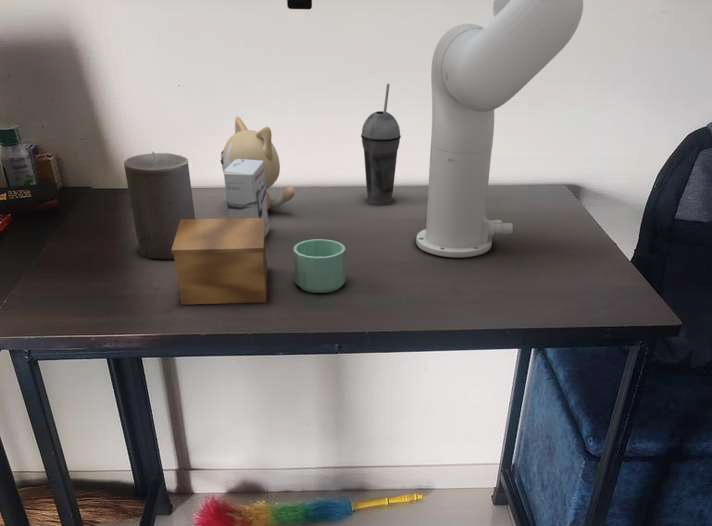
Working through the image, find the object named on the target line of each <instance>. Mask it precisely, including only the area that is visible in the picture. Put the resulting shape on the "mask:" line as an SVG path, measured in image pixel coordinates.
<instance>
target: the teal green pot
mask: <svg viewBox="0 0 712 526" xmlns="http://www.w3.org/2000/svg"><path fill="white" fill-rule="evenodd" d="M293 263H294V264H293V265H294V282H295V284H296V285H297V286H298V287H299V288H300V289H301V290H302V291H305V292H308V293H313V294H314V293H315V294H326V293H332V292H335V291H337V290H339V289H340V288H342V286H343V285H344V284H345V283H346V281H347V280H346V278H347V277H346V276H347V275H346V271H347V270H346V247H345V245H344V244H343V243H341V242H339V241H336V240H333V239H325V238H314V239H308V240H307V239H306V240H303V241H300V242H297V243H296V244H295V245H294V246H293Z"/></svg>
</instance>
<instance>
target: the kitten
mask: <svg viewBox="0 0 712 526" xmlns="http://www.w3.org/2000/svg"><path fill="white" fill-rule="evenodd" d="M220 153H221V154H220V156H221V157H220V160H219V161H220V164H221V168H222V172H223V174H224V170H225V169H226V168H227V167H228V166H229V165H230V164H231V163H232V162H233V161H234V160H235V159H247V160H261V161H264V170H265V185H266V199H267V211H269V209H270V208H279V207H281V206H283V205H285V204H286V203H288V202H289V201H291V200H292V199H293V198H294V196H295V192H296V191H295V188H294V187H293V186H292V185H287V186H286V187H285V188H284V190H283V192H282V194H281V196H280V197H277V198H273V199H272V196H271V194H270V193H269V190H268V189H270V188H271V187H272V186H273V185H274V184H275V183H276V182H277V180H278V178H279V176H280V173H281V163H280V158H279V154H278V151H277V149H276V147H275V145H274V144H273V142H272V129H271V128H270V127H269V126H265V127H263V128H261V129H260V130H258V131H256V130H252V129H251V130H250V129H248V127H247V125H246V124H245V123H244V121H243V120H242V119H241V117H240V116H236V117H235V120H234V134H232V135H231V136H230V137H229V138H228V139H227V140H226V143H225V144H224V148H223V149H222V151H221V152H220Z"/></svg>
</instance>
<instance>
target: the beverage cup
mask: <svg viewBox="0 0 712 526" xmlns="http://www.w3.org/2000/svg"><path fill="white" fill-rule="evenodd" d="M389 92H390V83H386V88H385V96H384V97H385V98H384V105H383V110H379V111H375V112H372V113H371V114H370V115H369V116H368V117H367V118H366V119H365V120H364V122H363V125H362V128H361V134H360V137H361V143H362V148H363V157H364V170H365V184H366V185H365V187H366V193H367V202H368V203H369V204H371V205H376V206H377V205H378V206H386V205H389V204H391V203H392V201H393V195H394V194H393V193H394V186H395V175H396V168H397V167H396V166H397V158H398V149H399V146H400V142H401V141H400V140H401V138H402V135H401V130H400V129H401V128H400V125H399V123H398V120H397V119H396V118H395V116H394V115H392V114H391V113H390V112H387V110H388V102H389V94H390V93H389Z"/></svg>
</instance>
